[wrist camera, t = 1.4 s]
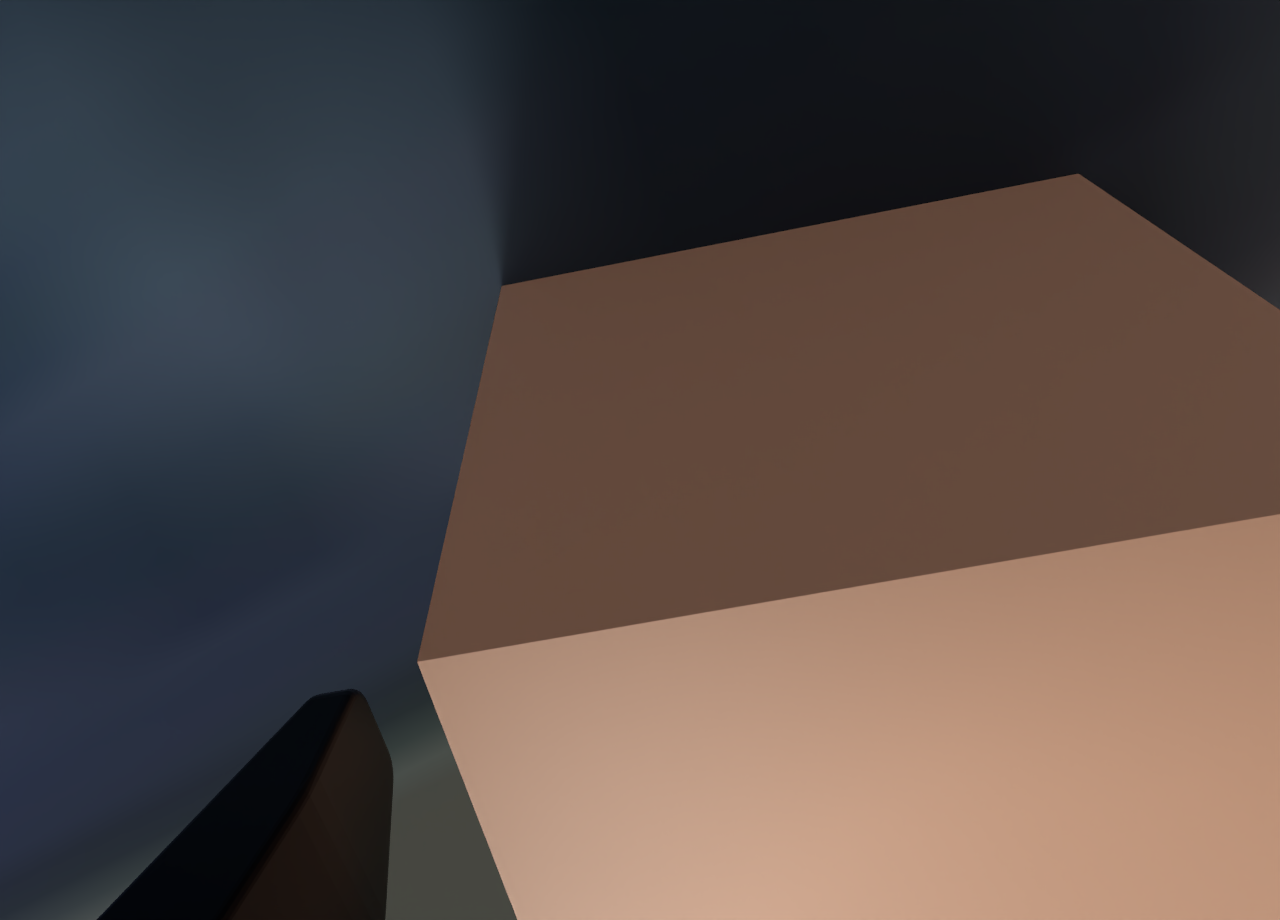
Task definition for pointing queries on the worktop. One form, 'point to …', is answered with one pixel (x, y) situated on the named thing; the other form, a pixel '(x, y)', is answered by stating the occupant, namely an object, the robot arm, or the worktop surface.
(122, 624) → the worktop surface
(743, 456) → the terracotta cube
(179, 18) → the worktop surface
